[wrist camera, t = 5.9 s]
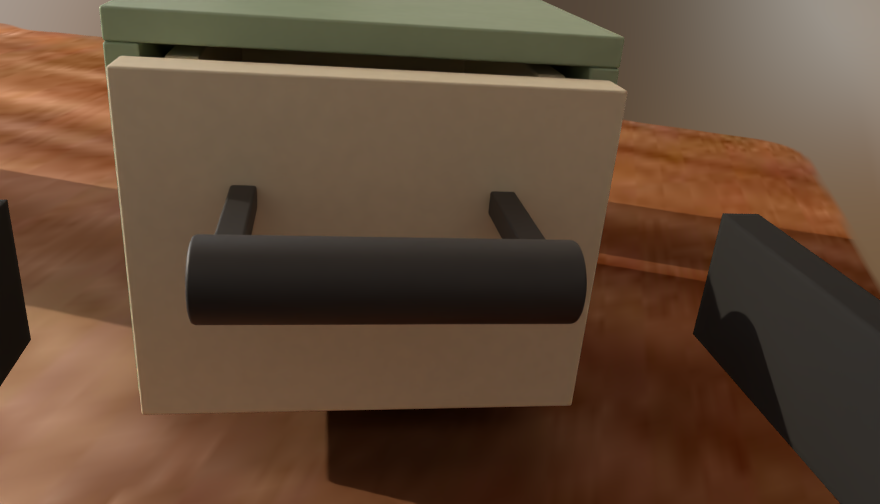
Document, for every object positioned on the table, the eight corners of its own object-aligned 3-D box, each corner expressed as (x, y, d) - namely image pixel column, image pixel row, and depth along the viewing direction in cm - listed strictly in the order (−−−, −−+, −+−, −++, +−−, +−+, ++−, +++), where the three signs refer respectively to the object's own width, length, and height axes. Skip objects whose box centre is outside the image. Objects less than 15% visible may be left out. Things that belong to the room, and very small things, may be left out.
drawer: (640, 544, 16) (735, 156, 13) (85, 573, 15) (16, 131, 11) (480, 221, 33) (502, 13, 29) (211, 216, 31) (200, -6, 28)
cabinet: (565, 387, 23) (626, 36, 19) (138, 394, 21) (98, 4, 17) (477, 213, 37) (502, -18, 32) (208, 208, 35) (195, -40, 30)
